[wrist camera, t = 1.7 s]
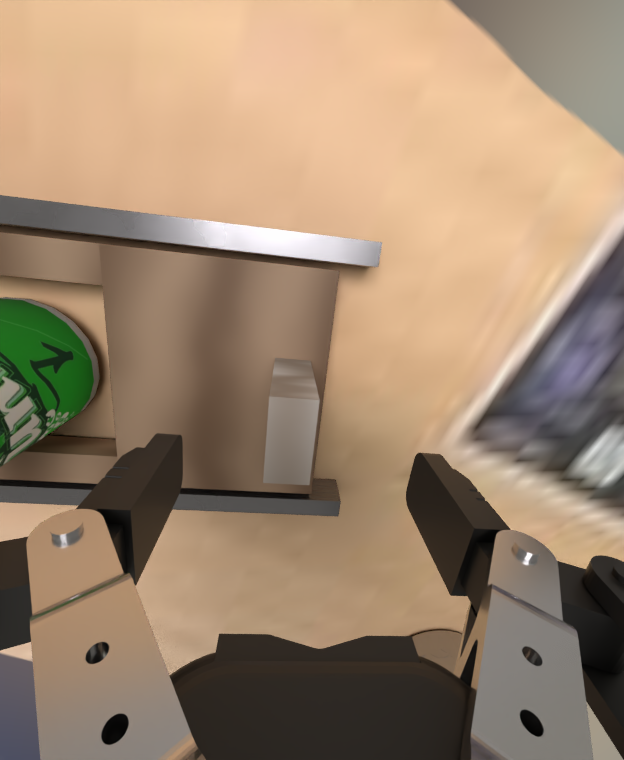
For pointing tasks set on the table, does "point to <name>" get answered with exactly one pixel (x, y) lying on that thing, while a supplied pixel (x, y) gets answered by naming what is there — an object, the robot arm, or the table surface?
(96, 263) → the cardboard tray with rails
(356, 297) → the table surface
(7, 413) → the soda can
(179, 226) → the lane rails
